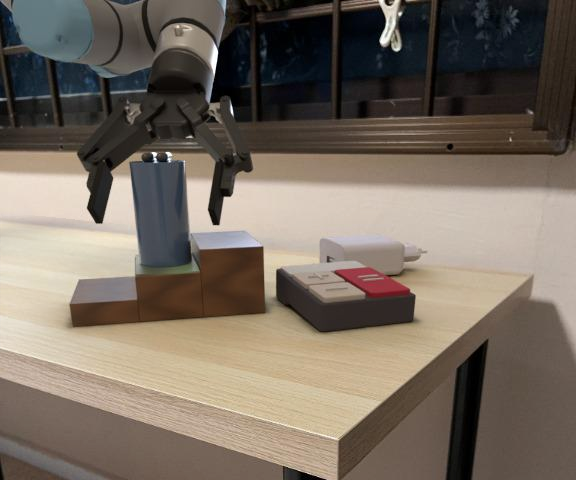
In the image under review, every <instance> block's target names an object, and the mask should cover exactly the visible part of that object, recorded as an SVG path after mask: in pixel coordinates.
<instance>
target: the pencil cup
mask: <svg viewBox="0 0 576 480" xmlns="http://www.w3.org/2000/svg"><path fill="white" fill-rule="evenodd" d="M140 158H141V160H135V161H129V162H128V164H129V174H130V184H131V192H132V193H131V194H132V202H133V203H132V205H133V213H134V223H135V233H136V241H137V252H138V254H139V262H140V264H141V265H143V266H147V267H174V266H181V265H186V264H189V263H191V262H192V250H191V235H190V234H191V224H190V213H189V212H190V211H189V209H190V208H189V199H188V198H189V197H188V181H187V168H186V167H187V166H186V161H185V160H181V159H180V160H179V159H173V155H172V152H169V151H165V152H155V151H154V152H153V151H152V152H144V153H142V154H141V156H140Z"/></svg>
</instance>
